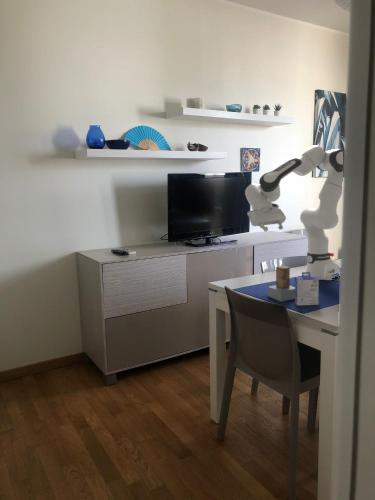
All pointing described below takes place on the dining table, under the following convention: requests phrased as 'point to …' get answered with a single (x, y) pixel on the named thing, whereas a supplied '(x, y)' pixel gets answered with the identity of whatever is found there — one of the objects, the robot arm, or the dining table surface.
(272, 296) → the white square block
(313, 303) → the ink cartridge box
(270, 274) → the dining table surface
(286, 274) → the brown cylinder
